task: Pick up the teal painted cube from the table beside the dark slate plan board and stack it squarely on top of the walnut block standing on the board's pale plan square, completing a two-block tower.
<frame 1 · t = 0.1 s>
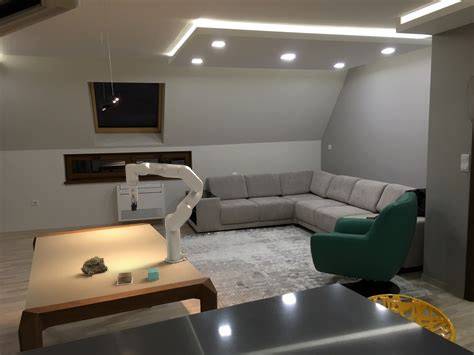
hand: (134, 209, 257), 37 cm above the table, tool pointing down, fingers open, 9 cm apart
teal block: (153, 280, 231), on the table
walnut block: (125, 281, 228), point 1 cm above the table, touching blueprint board
mineral specimen: (94, 273, 246), on the table
blueprint board: (125, 283, 228), on the table
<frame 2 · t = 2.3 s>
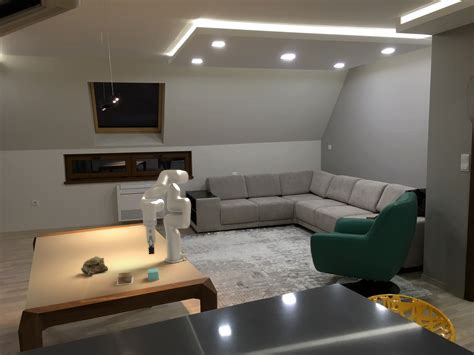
hand: (151, 251, 229), 17 cm above the table, tool pointing down, fingers open, 9 cm apart
nothing on the table moved.
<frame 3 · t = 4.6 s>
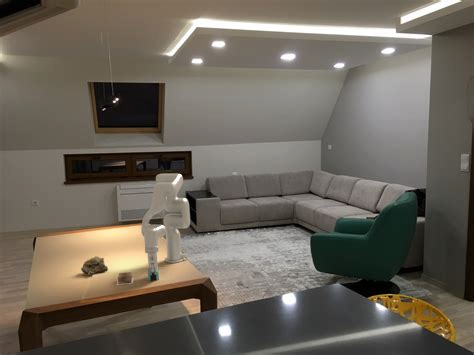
hand: (153, 278, 231), 1 cm above the table, tool pointing down, fingers closed on teal block, 6 cm apart
teal block: (153, 280, 231), on the table, touching gripper
everything else where it was.
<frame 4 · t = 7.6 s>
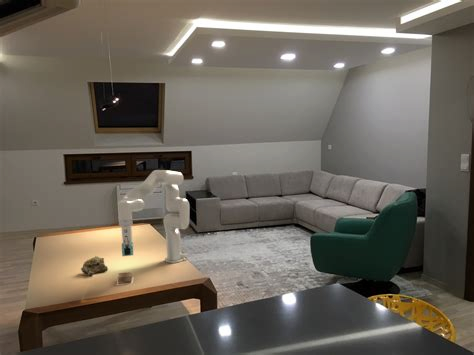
hand: (127, 252, 226), 18 cm above the table, tool pointing down, fingers closed on teal block, 6 cm apart
teal block: (127, 254, 226), point 17 cm above the table, touching gripper
everything else where it was.
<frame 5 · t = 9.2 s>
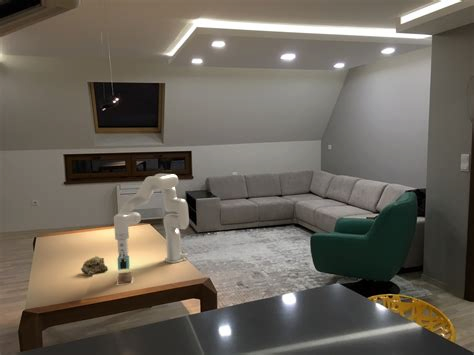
hand: (123, 266, 227), 10 cm above the table, tool pointing down, fingers closed on teal block, 6 cm apart
teal block: (123, 267, 227), point 9 cm above the table, touching gripper
everything else where it was.
when the fingers open (7 cm above the table, at t = 10.7 s): teal block drops 1 cm, resting on walnut block.
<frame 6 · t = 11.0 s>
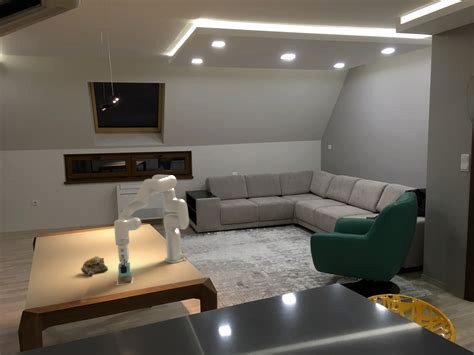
hand: (124, 270, 227), 8 cm above the table, tool pointing down, fingers open, 9 cm apart
teal block: (124, 274, 227), point 5 cm above the table, touching walnut block
walnut block: (125, 281, 228), point 1 cm above the table, touching blueprint board, teal block
everything else where it was.
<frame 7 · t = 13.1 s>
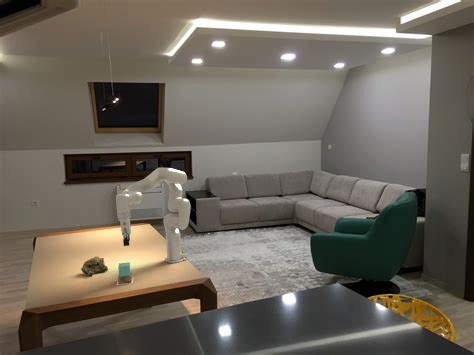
hand: (126, 243, 232), 22 cm above the table, tool pointing down, fingers open, 9 cm apart
nothing on the table moved.
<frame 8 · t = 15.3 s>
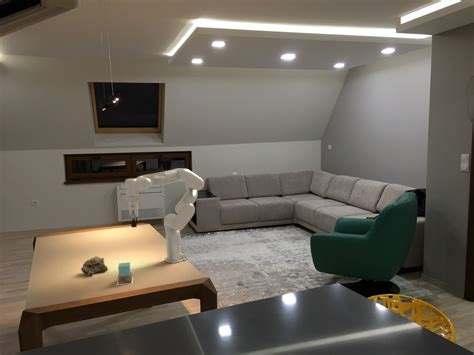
hand: (134, 225, 248), 28 cm above the table, tool pointing down, fingers open, 9 cm apart
nothing on the table moved.
at the end: teal block 0.1 cm from the walnut block (horizontally); teal block point 5.2 cm above the table; teal block tilted 0° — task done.
